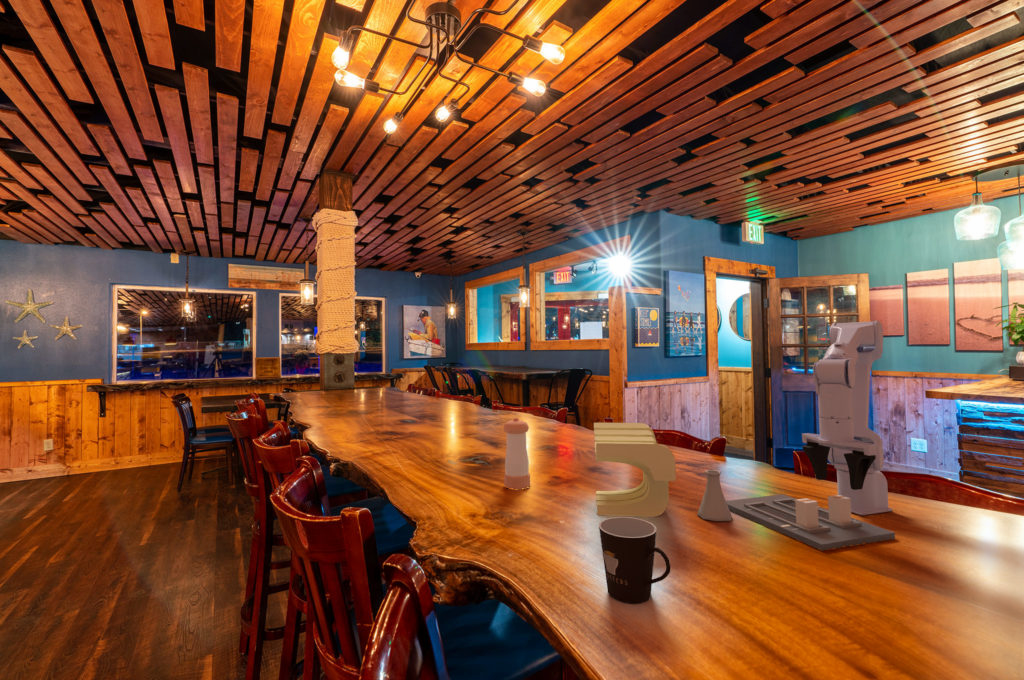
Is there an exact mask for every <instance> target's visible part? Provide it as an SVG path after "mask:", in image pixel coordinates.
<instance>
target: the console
mask: <svg viewBox="0 0 1024 680" xmlns="http://www.w3.org/2000/svg"><path fill="white" fill-rule="evenodd" d="M796 499H797V498H794V497H791V496H790V495H786V494H782V493H781V494H773V495H765V496H764V495H763V496H757V497H756V496H755V497H746V498H739V499H731V500H726V503H727V505H728V508H729V510H730V512H732V513H735V514H737V515H739V516H741V517H744V518H746V519H748V520H751V521H753V522H755V523H757V524H760V525H761V526H764V527H766V528H769V529H771V530H773V531H775V532H777V531H778V533H780V534H782V535H784V534H785V535H784V536H787V537H789V536H790V537H789V538H791V537H792V539H793V538H795V539H794V540H796V539H797V540H796V541H798V540H799V541H798V542H800V541H802V542H804V543H803V544H805V543H806V544H805V545H807V544H808V545H807V546H809V545H810V546H809V547H811V546H813V547H812V548H814V549H816V548H817V550H818V549H820V550H819V551H821V550H822V551H821V552H824V551H823V550H826V551H828V550H827V549H832V550H834V549H833V548H838V549H840V548H839V547H843V546H850V545H856V546H858V545H857V544H862V545H864V544H863V543H868V544H871V543H870V542H874V543H877V542H876V541H879V542H883V541H882V540H885V541H890V540H889V539H891V540H895V539H896V533H895V531H891V530H888V529H885V528H882V527H880V526H877V525H874V524H871V523H868V522H865V521H863V520H859V519H856V518H853V517H851V522H849V523H842V524H838V523H835V522H832V521H829V510H828V509H826V508H824V507H821V506H818V523H819V527H816V528H809V529H807V528H804V527H802V526H799V525H797V524H796V506H795V500H796ZM802 542H801V543H802ZM850 547H851V546H850Z"/></svg>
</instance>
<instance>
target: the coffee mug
mask: <svg viewBox="0 0 1024 680" xmlns="http://www.w3.org/2000/svg"><path fill="white" fill-rule="evenodd" d="M598 529H599V536H600V537H599V538H600V543H601V551H602V558H603V559H602V560H603V565H604V573H605V582H606V588H607V594H608V595H609V597H611V598H612V600H615V601H617V602H620V603H623V604H627V605H639V604H644V603H646V602H648V601H649V600H650V599H651V595H652V585H653V584H656V583H658V582H661V581H663V580H665V579H666V578H667V577H668V576H669V574H670V573H671V570H672V569H671V568H672V567H671V562H670V559H669V557H668V555H667V554H666V552H665V551H663V550H662V549H661V548H659V547H656V541H657V540H656V538H657V529H658V528H657V527H656V525H654V524H653V523H652V522H650V521H648V520H645V519H642V518H638V517H633V516H613V517H609V518H605V519H603V520H601V521H600V522H599V523H598ZM655 553H658V554H659V555H660V557H662V558H663V560H664V562H665V563H664V564H665V571H664V573H663V574H662V575H660V576H658V577H655V578H653V574H654V573H653V572H654V563H655V562H654V561H655Z"/></svg>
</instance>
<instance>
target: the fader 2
mask: <svg viewBox="0 0 1024 680" xmlns="http://www.w3.org/2000/svg"><path fill="white" fill-rule="evenodd" d="M827 506H828V507H827V508H828V509H827V510H829V521H832V522H835V523H838V524H842V523H849V522H851V518H852V512H851V501H850V498H848V497H845V496H841V495H838V494H835V495H828V496H827Z"/></svg>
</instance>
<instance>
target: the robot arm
mask: <svg viewBox="0 0 1024 680" xmlns="http://www.w3.org/2000/svg"><path fill="white" fill-rule="evenodd" d="M829 341H830V346H829V347H828V348H827V350H826V352H825V354H824V355H823V357H822V359H819V360H818V361H815V362H814V363H813V367H812V368H813V369H812V376H813V382H814V387H815V393H816V395H817V396H818V397H817V398H818V422H819V423H818V425H819V426H818V427H819V434H818V433H810V432H807V433H806V432H805V433H801V438H802V439H801V440H802V443H804V444H805V445H802V447H801V448H802V451H804V453H805V454H806V456H807V457H808V458H807V459H808V460H809V462H810V464H811V466H812V469H813V473H814V476H815V479H816V480H818V481H823V480H828V479H827V478H828V461H829V463H830V464H831V465H832V466H834V469H836V478H837V479H836V480H837V482H836V483H837V485H836V486H837V495H841V496H845V497H848V498H850V501H851V513H853V514H856V515H860V516H868V515H874V514H880V513H881V514H882V513H886V512H887V513H888V512H893V508H891V507H889V495H888V494H889V492H888V490H889V489H888V480H887V479H886V476H885V475H884V474H883V473H882V472H881V470H882V469H883V468H884V462H885V459H884V458H885V456H884V446H883V444H884V441H883V439H882V438H881V436H880V434H878V433H876V432H875V431H873V430H871V429H870V428H869V411H870V410H869V409H870V408H869V407H870V387H871V386H870V384H871V381H870V379H871V370H872V367H873V363H874V362H875V361H878V360H880V359H881V358H882V354H883V348H884V329H883V325H882V322H880V320H874V321H857V322H855V321H853V322H833V323H832V324H831V325H830V327H829Z"/></svg>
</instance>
